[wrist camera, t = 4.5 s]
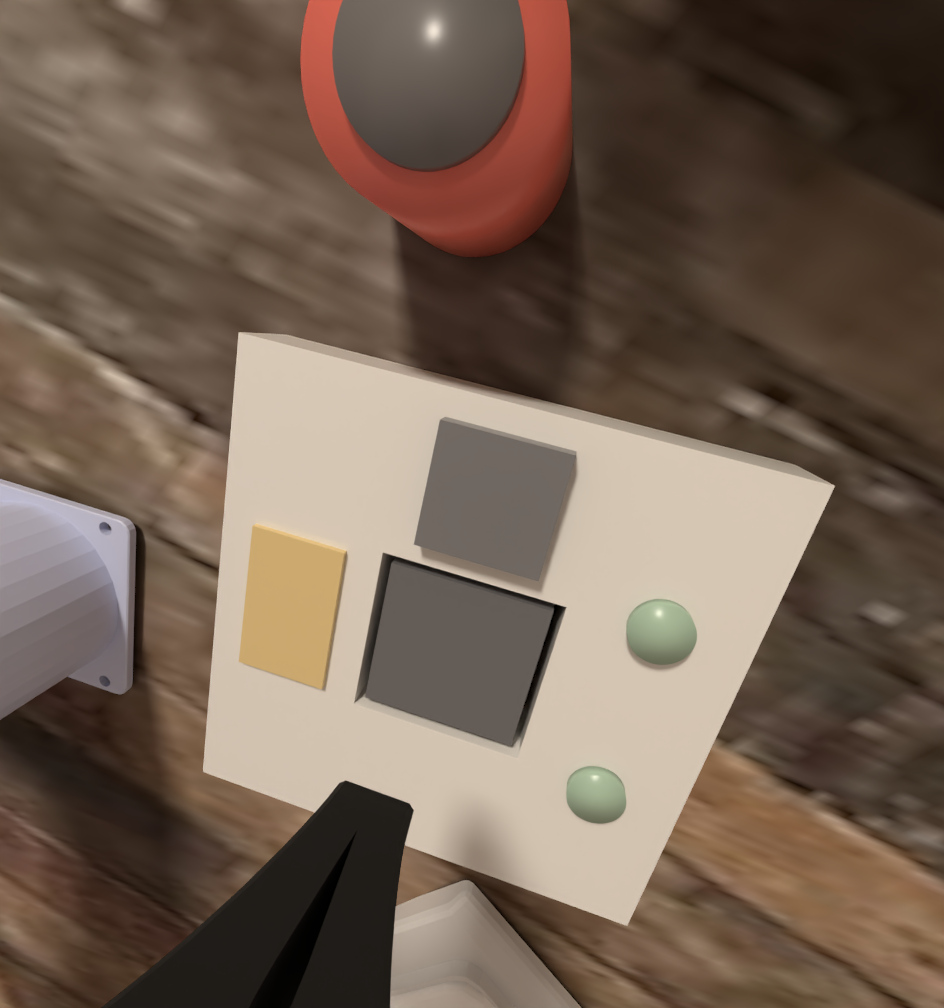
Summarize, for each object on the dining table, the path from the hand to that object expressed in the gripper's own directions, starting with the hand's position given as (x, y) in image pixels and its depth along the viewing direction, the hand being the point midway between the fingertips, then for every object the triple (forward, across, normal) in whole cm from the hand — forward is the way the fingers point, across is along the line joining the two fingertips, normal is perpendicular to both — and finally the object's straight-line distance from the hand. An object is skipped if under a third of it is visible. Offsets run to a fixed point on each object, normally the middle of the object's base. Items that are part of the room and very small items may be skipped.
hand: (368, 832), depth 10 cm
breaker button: (+9, 0, +1) cm, 9 cm away
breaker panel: (+9, 0, +1) cm, 9 cm away
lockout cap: (+10, +3, -13) cm, 17 cm away
